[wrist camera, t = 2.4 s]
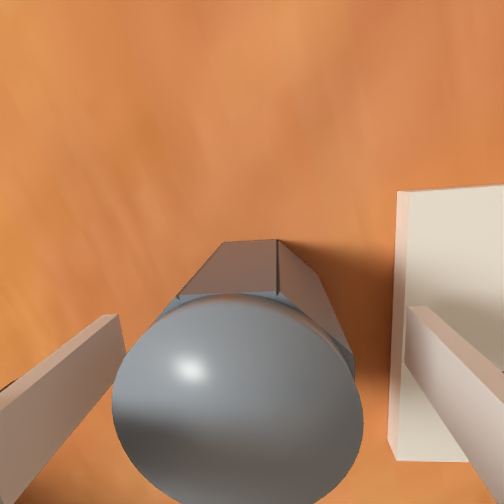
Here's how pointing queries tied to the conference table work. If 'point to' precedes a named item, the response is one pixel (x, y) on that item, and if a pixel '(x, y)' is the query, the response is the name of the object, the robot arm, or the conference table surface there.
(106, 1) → the conference table surface
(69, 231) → the conference table surface
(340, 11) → the conference table surface
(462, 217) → the stud board
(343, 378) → the cap
